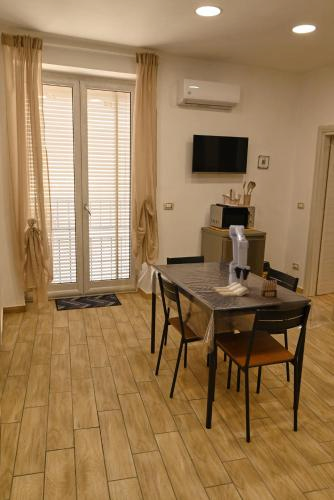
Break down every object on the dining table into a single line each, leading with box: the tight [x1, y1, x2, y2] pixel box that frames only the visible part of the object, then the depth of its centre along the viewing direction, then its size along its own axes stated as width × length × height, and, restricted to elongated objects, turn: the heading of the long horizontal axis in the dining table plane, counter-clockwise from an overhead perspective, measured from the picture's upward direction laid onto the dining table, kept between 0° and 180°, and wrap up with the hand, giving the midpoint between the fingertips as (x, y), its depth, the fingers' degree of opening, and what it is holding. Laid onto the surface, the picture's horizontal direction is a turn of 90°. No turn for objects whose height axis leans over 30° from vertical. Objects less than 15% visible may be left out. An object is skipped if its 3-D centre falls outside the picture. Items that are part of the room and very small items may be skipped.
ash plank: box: [225, 282, 250, 297], centre depth 266 cm, size 18×8×2 cm, turn 15°
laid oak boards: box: [212, 286, 238, 298], centre depth 264 cm, size 18×9×2 cm, turn 15°
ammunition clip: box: [260, 279, 278, 298], centre depth 260 cm, size 11×2×12 cm, turn 109°
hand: (241, 279), depth 264 cm, fingers open, 7 cm apart
